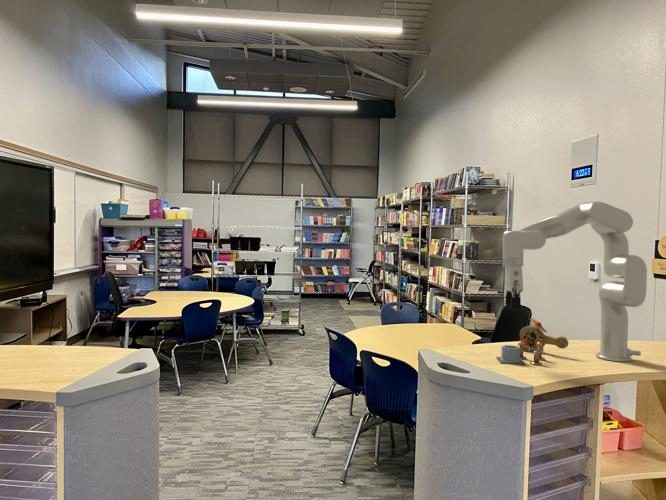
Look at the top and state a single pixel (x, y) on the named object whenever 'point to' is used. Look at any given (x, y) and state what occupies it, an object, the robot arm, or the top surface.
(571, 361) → the top surface
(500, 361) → the pad
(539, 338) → the toy helicopter
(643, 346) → the top surface
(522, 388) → the top surface
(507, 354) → the blue-grey block
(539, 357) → the brown legged frame
